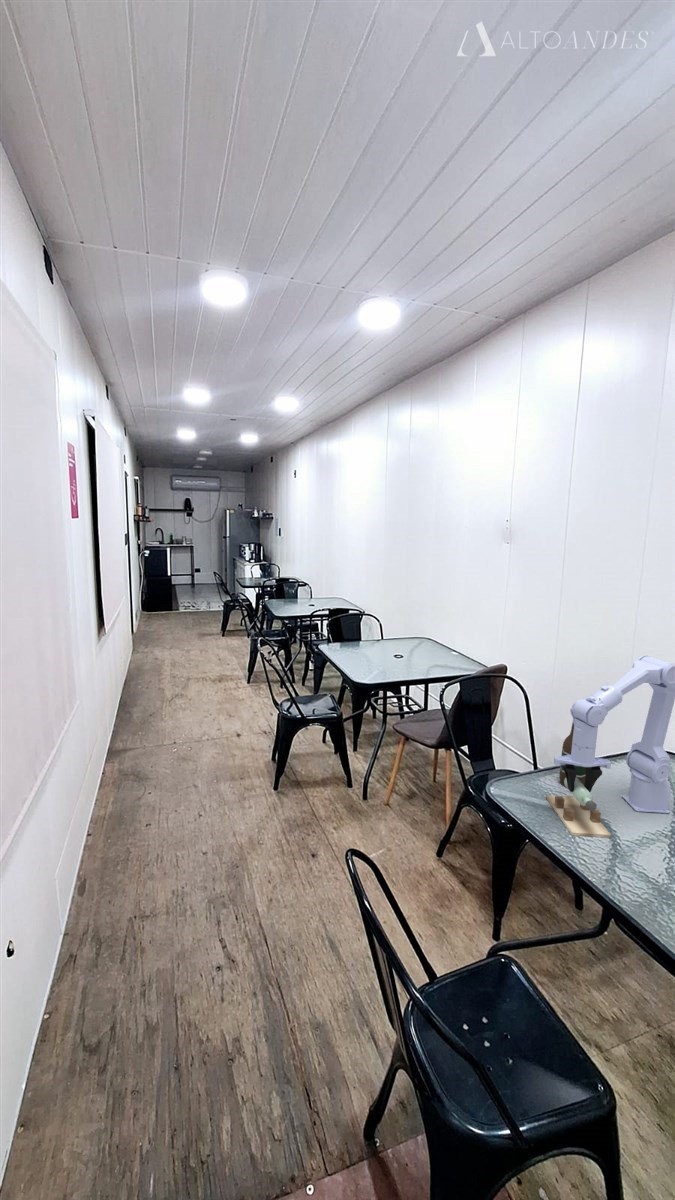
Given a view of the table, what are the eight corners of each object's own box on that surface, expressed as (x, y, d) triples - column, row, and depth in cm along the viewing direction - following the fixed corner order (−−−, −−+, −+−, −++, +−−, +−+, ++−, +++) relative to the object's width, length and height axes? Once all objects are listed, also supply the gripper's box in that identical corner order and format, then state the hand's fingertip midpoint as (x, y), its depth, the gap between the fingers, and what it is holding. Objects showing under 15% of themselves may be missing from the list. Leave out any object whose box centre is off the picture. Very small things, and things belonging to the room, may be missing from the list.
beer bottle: (562, 775, 157) (569, 705, 153) (588, 783, 152) (596, 711, 148) (555, 784, 151) (563, 711, 147) (582, 793, 146) (590, 718, 142)
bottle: (577, 788, 138) (579, 775, 137) (598, 814, 125) (600, 799, 125) (563, 787, 138) (564, 774, 137) (583, 812, 126) (584, 798, 125)
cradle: (580, 799, 142) (581, 788, 142) (610, 837, 125) (612, 824, 124) (545, 797, 143) (546, 786, 142) (571, 835, 125) (573, 822, 125)
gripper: (603, 739, 134) (598, 784, 136) (551, 736, 135) (546, 781, 137) (617, 750, 127) (611, 798, 129) (561, 747, 128) (556, 794, 130)
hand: (578, 790), depth 133 cm, fingers closed on bottle, 4 cm apart
